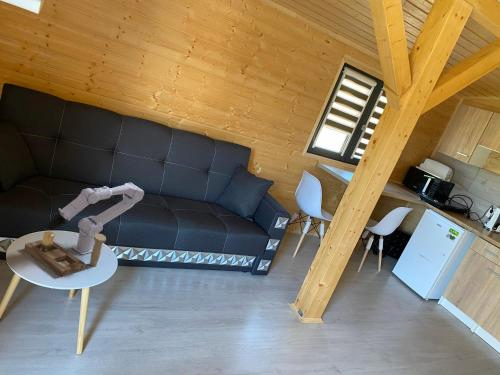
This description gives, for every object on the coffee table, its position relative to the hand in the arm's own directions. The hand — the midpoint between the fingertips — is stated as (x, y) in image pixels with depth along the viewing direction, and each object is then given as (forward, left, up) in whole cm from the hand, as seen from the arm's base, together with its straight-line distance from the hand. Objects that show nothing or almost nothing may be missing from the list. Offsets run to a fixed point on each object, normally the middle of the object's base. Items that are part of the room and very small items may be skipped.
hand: (48, 228), depth 170 cm
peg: (-3, -2, -15) cm, 15 cm away
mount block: (-3, +4, -15) cm, 16 cm away
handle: (-15, +16, -15) cm, 27 cm away
